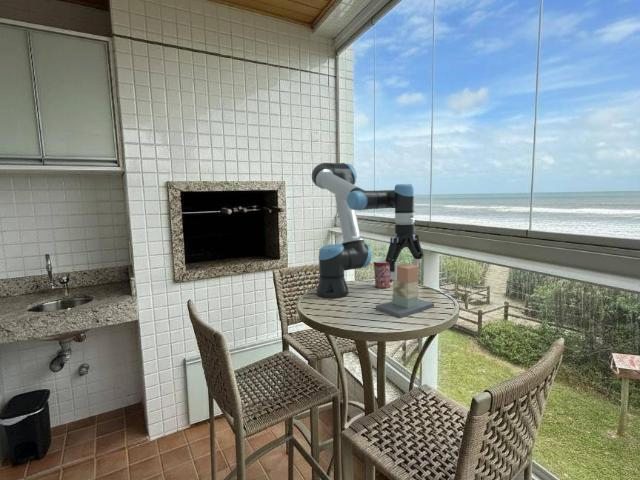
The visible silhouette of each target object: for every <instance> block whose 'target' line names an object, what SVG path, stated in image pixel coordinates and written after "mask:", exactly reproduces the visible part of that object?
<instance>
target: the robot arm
mask: <svg viewBox="0 0 640 480" xmlns="http://www.w3.org/2000/svg"><path fill="white" fill-rule="evenodd" d="M311 181H312V182H313V184H314V185H315V186H316V187H318V188H320V189H323V190H327V191H329V192H330V193H332V194H333V195H334V196H335V202H336V206H337V207H336V208H337V212H338V219H339V222H340V228H341V229H340V230H341V235H342V242H341V243H334V244H327V245H324V246H322V247H320V249H319V251H318V260H319V262H318V263H319V267H318V268H319V280H318V283H317V284H318V285H317V287H316V296H317V297H321V298H324V299H338V298H344V297H346V296H348V295H349V288H348V284H347V282H346V278H345V272H346V271H350V270H356V269H357V270H358V269H362V268H365V267H368V266H369V265H370V263H371V261H372V256H373V255H372V254H373V252H372V248H371V247H370V245H369V244H367V243H366V242H365V239H364V238H363V237H362V236H361V234H360V227H359V223H358V217H357V211H365V210H366V211H367V210H382V209H383V210H385V209H394V223H395V224H394V233H395V234H396V237H393V236H392V237H390V240H389V241H390V242H389V246H388V250H387V253H386V255H385V256H386V257H385V259H386V260H385V261H386V262H388V263H389V264H390V279H392V280H397V265H398V263H396V262H397V260H398V258H399V257H400V254H401V253H402V250H404V248H408V250H409V252H410V254H411V255H412V257H413V258H411V260H412V261H411V265H413V266H418V267H420V260H422V259H423V257H424V253H423V250H422V247H421V244H420V239H419V236H420V235H418V234H415V231H416V230H415V224H414V223H415V212H416V211H415V197H416V193H415V192H416V191H415V185H414V184H412V183H401V184H400V183H399V184H395V186H394V189H383V190H382V189H381V190H364V189H363V188H361V187H359V186H357V185H355V184H356V183H357V171H356V168H355V167H354V166H353V165H352V164H350V163H346V162H321V163H319V164H317V165H315V166H314V168H313V169H312V172H311Z"/></svg>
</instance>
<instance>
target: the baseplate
mask: <svg viewBox="0 0 640 480" xmlns="http://www.w3.org/2000/svg"><path fill="white" fill-rule="evenodd" d="M391 295H392V300H391V301H388V302H384V303H382V304H378V305H375V310H377V311H380V312H382V313H385V314H388V315H391V316H393V317H396V318H399V319H401V318H405V317H407V316H412V315H413V314H417V313H420V312H423V311H426V310H428V309H433V308H434V307H435V302H434V303H433V302H432V301H426V300H424V299H420V298H419V295H418V296H416V297H413V298H410V299H407V298H404V297H400V296H397V295H393V293H392V294H391Z"/></svg>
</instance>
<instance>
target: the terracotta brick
mask: <svg viewBox="0 0 640 480" xmlns="http://www.w3.org/2000/svg"><path fill="white" fill-rule="evenodd" d="M419 267H420V266H419ZM419 267H418V266H413V265H412V264H407V263H400V264H399V263H398V264H397V280H395V281H399V282H403V283H407V284H409V283H414V282H418V283H419V282H420V281H419V272H420V268H419Z"/></svg>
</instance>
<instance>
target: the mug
mask: <svg viewBox="0 0 640 480" xmlns="http://www.w3.org/2000/svg"><path fill="white" fill-rule="evenodd" d="M385 260H386V258H385V259H384V258H383V259H381V258H380V259H373V262H372V263H373V268H374V269H373V273H374V280H375V281H374V283H375V285H374V286H375V288H377V289H383V290H384V289H389V288H390V287H391V284H392V283H393V280H392V279H391V276H390V264H389V263H388V262H386V261H385Z"/></svg>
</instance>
